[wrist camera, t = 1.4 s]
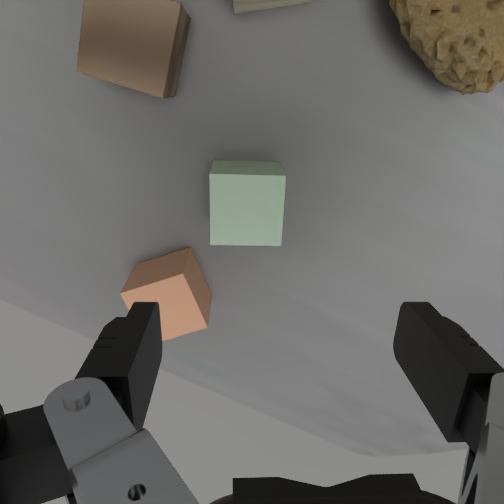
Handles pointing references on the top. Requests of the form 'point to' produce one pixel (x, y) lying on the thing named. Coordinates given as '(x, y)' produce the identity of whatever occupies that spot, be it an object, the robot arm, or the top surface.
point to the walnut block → (134, 43)
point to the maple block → (262, 4)
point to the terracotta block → (172, 292)
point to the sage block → (246, 203)
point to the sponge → (456, 40)
